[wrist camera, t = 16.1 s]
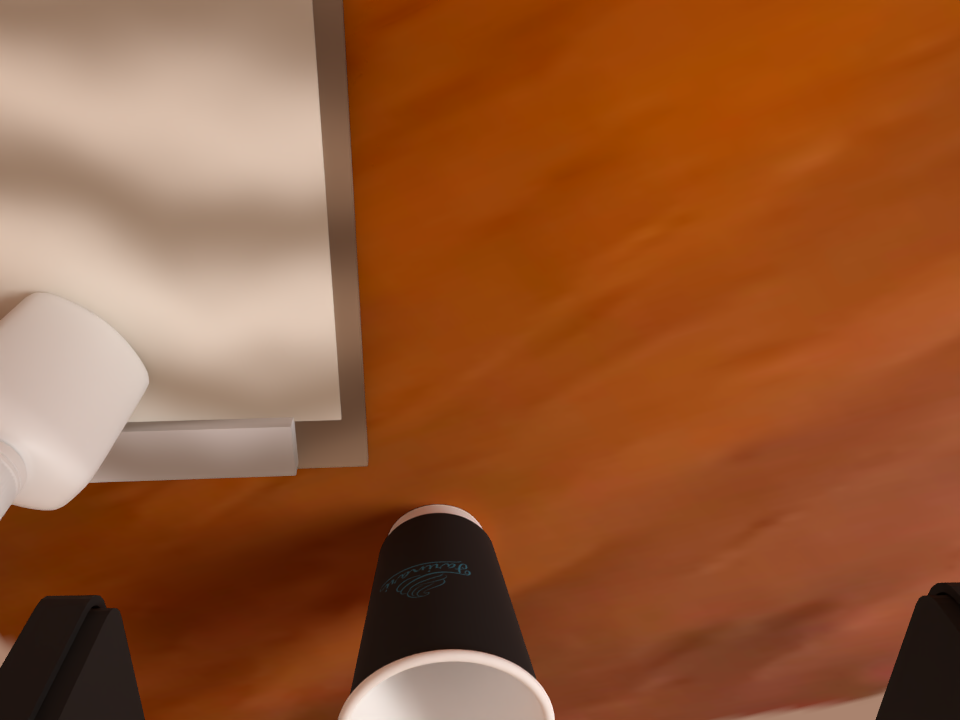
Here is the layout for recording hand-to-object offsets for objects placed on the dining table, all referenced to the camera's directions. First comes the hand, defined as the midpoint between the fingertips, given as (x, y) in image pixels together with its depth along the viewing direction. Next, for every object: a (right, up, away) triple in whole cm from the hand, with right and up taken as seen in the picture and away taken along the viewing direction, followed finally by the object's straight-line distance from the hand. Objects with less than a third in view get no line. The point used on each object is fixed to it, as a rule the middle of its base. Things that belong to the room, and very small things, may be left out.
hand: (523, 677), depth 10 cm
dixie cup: (-3, -5, +30) cm, 31 cm away
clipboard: (-13, +9, +22) cm, 28 cm away
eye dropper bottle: (-16, +4, +24) cm, 29 cm away
